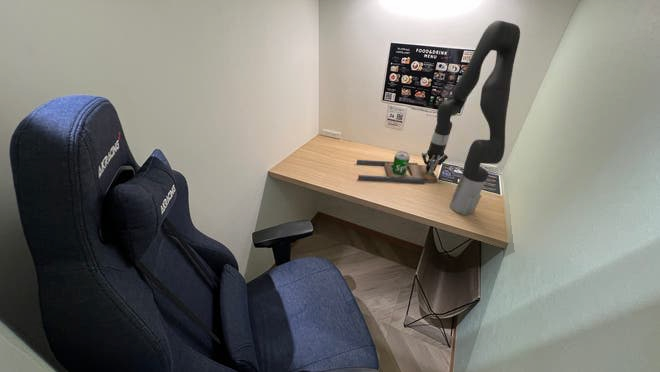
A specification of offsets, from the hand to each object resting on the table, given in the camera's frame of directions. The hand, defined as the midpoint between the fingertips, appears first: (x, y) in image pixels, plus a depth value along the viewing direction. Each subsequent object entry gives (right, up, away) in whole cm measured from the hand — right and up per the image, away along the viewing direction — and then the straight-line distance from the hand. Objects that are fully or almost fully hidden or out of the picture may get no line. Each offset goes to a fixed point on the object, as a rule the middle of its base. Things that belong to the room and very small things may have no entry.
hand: (429, 170), depth 138 cm
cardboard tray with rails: (-11, -2, +2) cm, 11 cm away
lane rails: (-22, -1, +2) cm, 22 cm away
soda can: (-16, -2, +2) cm, 17 cm away
